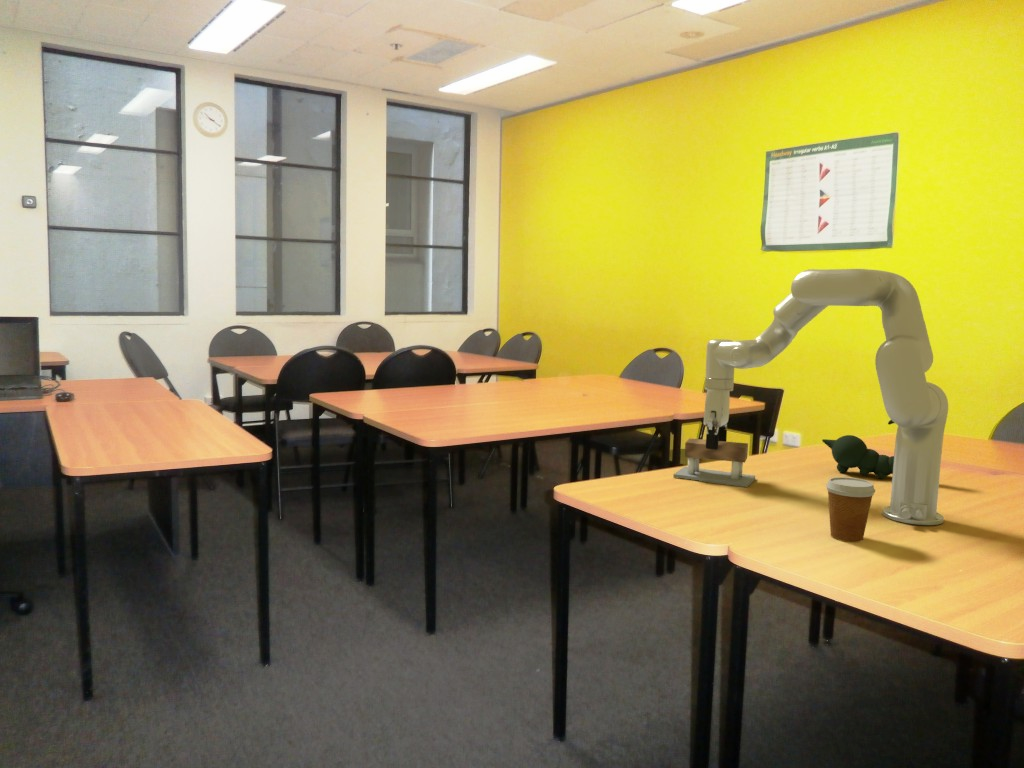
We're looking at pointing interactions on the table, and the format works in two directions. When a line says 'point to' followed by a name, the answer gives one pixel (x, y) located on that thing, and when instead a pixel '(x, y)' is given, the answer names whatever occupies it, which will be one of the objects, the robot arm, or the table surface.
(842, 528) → the disposable coffee cup
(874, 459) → the toy figurine
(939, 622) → the table surface
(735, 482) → the peg rack
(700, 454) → the shelf plank
